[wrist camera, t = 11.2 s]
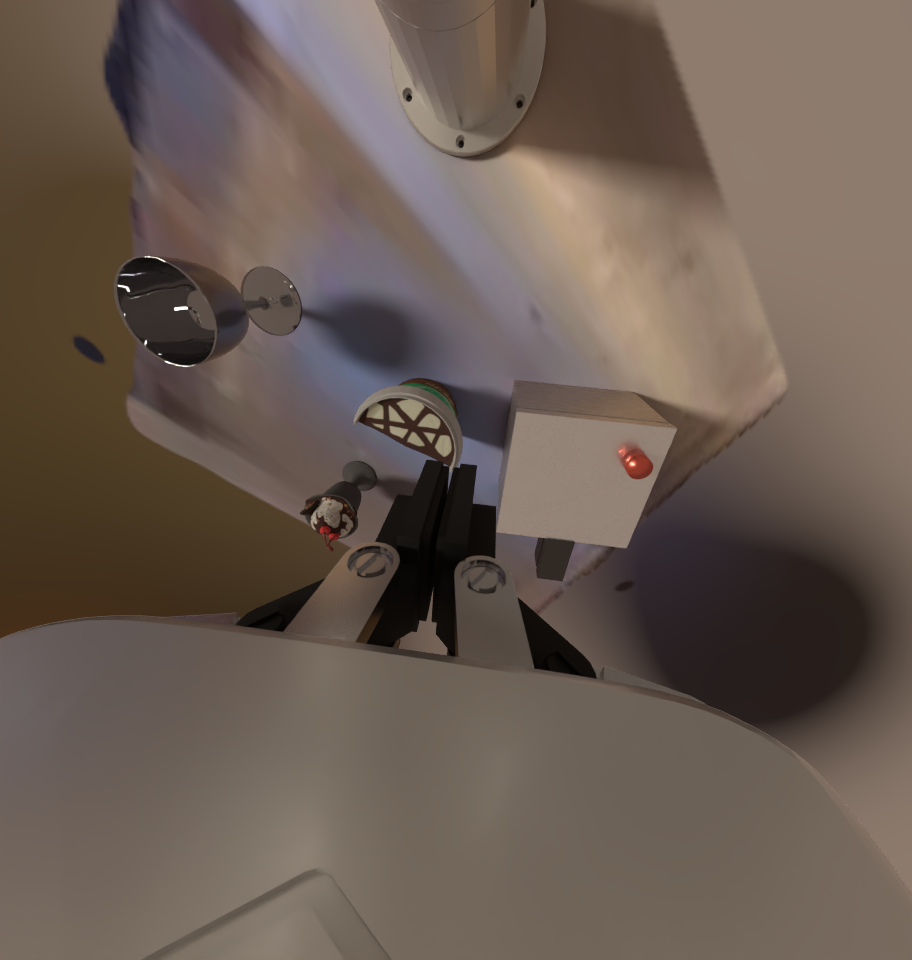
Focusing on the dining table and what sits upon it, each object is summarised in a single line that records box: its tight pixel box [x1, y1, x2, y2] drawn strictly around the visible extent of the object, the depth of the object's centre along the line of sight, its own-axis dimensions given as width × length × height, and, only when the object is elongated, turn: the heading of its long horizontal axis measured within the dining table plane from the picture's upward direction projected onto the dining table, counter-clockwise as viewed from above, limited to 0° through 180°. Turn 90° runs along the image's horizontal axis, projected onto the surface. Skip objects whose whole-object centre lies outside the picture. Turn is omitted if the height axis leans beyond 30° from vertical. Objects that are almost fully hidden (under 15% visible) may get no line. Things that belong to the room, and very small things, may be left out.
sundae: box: [300, 461, 376, 551], centre depth 45 cm, size 7×7×15 cm
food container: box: [353, 378, 463, 472], centre depth 40 cm, size 12×6×10 cm, turn 63°
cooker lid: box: [496, 408, 677, 581], centre depth 37 cm, size 20×14×3 cm
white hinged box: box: [498, 380, 669, 566], centre depth 43 cm, size 20×14×10 cm
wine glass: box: [114, 256, 301, 367], centre depth 34 cm, size 8×8×15 cm
